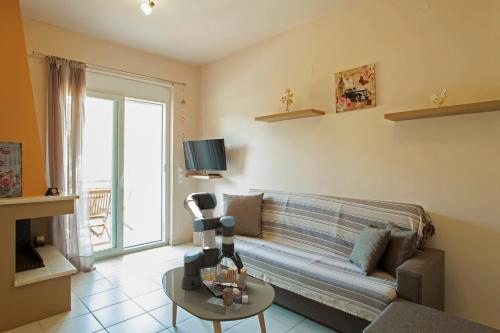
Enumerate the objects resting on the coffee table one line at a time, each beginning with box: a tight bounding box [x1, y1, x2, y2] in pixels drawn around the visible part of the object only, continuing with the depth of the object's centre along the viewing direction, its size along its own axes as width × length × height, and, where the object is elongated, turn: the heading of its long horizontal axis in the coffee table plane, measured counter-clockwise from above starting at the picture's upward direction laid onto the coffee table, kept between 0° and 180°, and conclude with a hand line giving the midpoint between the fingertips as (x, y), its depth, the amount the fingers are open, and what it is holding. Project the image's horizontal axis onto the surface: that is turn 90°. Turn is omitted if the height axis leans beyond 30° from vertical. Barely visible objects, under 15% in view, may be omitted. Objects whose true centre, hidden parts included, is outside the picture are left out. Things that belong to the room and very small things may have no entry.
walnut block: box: [222, 287, 234, 307], centre depth 177 cm, size 4×4×9 cm
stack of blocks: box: [214, 265, 248, 290], centre depth 204 cm, size 21×6×12 cm, turn 73°
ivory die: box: [241, 294, 249, 304], centre depth 181 cm, size 3×3×3 cm
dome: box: [232, 287, 241, 297], centre depth 185 cm, size 7×7×5 cm
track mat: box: [206, 296, 243, 311], centre depth 178 cm, size 22×7×1 cm, turn 64°
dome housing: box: [233, 289, 247, 304], centre depth 185 cm, size 10×10×3 cm
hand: (227, 276), depth 176 cm, fingers open, 13 cm apart
